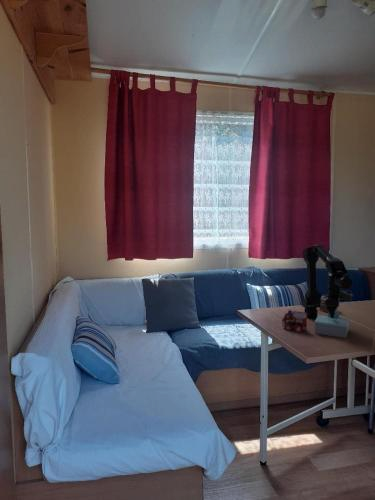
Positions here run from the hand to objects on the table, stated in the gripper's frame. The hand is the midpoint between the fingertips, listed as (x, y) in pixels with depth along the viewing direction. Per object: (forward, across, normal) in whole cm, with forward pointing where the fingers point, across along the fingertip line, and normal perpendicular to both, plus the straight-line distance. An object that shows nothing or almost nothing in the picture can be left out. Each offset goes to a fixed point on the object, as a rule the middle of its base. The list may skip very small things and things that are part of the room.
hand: (333, 315), depth 178 cm
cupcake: (+8, +40, +8) cm, 41 cm away
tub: (+8, -5, 0) cm, 9 cm away
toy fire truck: (+8, -9, +17) cm, 21 cm away
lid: (+2, -5, 0) cm, 6 cm away
